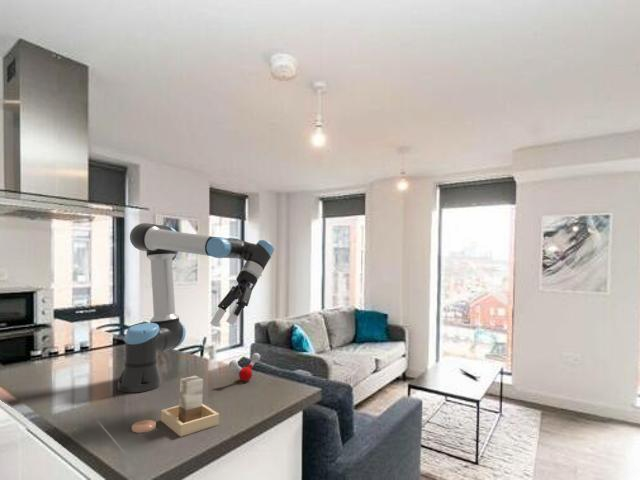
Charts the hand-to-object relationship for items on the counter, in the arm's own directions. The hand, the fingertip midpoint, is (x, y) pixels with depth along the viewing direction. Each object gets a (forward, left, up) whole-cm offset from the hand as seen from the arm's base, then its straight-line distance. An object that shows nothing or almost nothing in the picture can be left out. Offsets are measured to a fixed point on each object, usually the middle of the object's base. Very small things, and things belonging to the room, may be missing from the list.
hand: (221, 324), depth 132 cm
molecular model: (+2, +25, -28) cm, 37 cm away
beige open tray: (-3, -17, -28) cm, 32 cm away
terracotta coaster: (-14, -23, -28) cm, 38 cm away
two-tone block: (-2, -17, -27) cm, 32 cm away
